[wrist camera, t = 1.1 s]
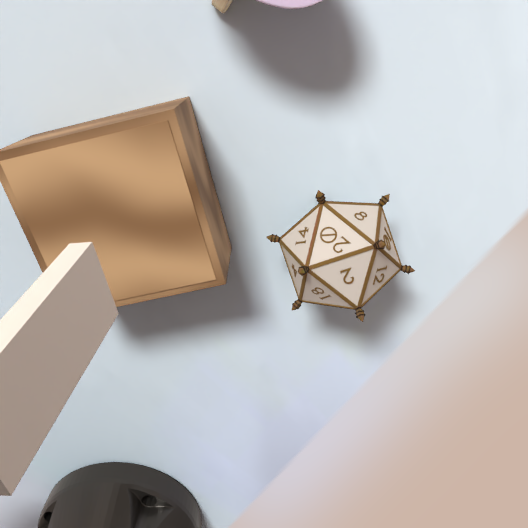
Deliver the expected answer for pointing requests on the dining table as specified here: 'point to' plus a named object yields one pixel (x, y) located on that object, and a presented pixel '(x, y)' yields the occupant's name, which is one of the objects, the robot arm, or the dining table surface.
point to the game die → (340, 254)
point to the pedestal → (124, 200)
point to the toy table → (222, 3)
